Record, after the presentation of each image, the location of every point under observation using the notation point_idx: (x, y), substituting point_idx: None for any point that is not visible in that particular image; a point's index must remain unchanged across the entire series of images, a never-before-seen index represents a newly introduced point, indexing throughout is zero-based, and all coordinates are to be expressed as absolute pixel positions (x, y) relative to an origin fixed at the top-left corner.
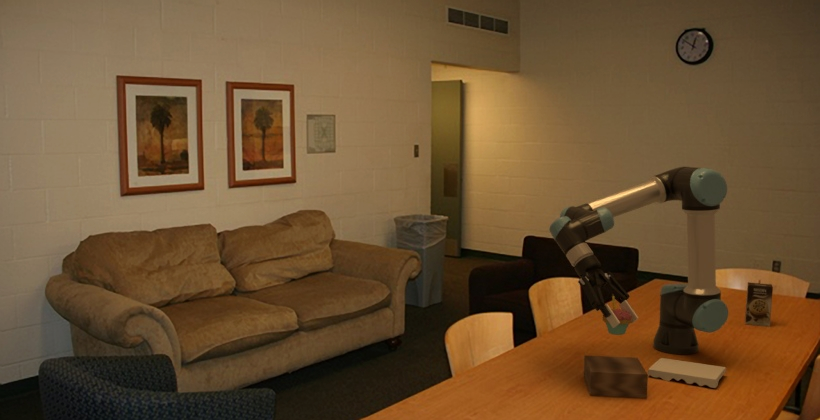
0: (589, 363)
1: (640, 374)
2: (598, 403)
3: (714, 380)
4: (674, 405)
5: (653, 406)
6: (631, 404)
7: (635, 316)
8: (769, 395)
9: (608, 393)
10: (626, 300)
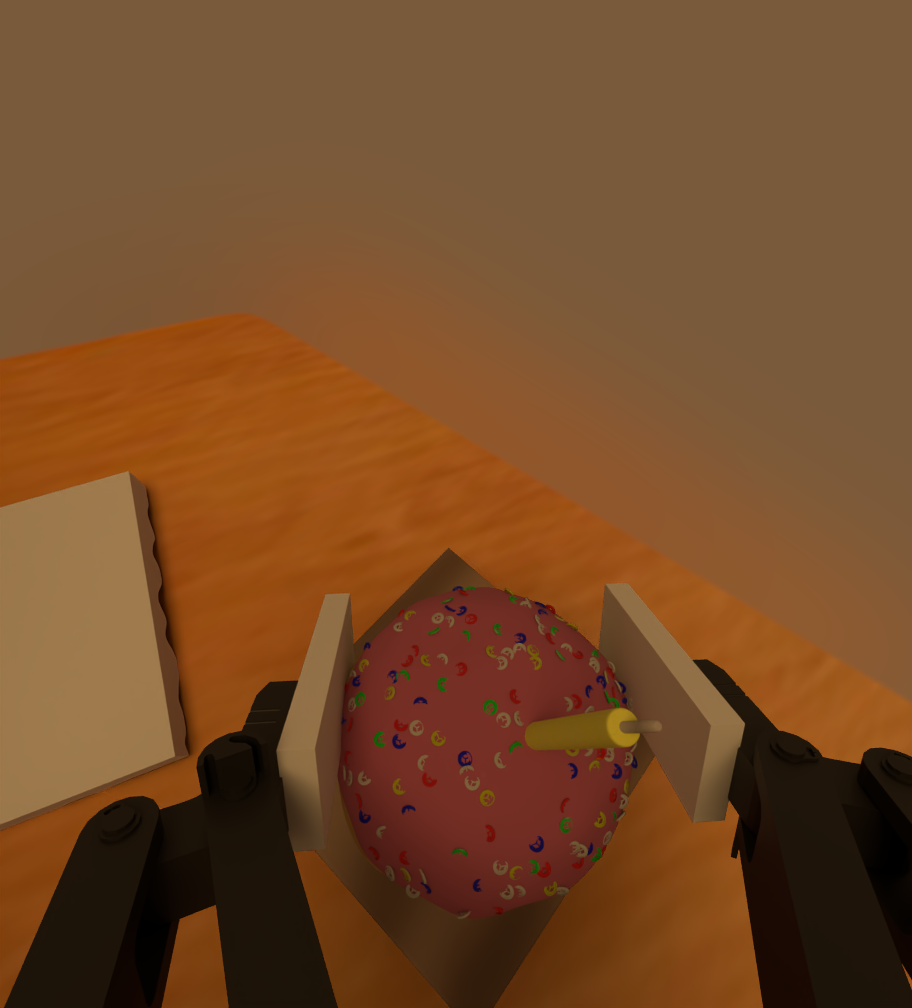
0: None
1: (472, 570)
2: None
3: (132, 476)
4: (423, 487)
5: (494, 520)
6: (547, 575)
7: (347, 608)
8: (77, 368)
9: None
10: (280, 743)
